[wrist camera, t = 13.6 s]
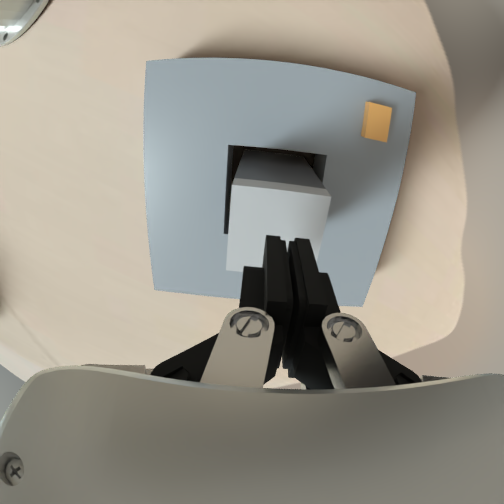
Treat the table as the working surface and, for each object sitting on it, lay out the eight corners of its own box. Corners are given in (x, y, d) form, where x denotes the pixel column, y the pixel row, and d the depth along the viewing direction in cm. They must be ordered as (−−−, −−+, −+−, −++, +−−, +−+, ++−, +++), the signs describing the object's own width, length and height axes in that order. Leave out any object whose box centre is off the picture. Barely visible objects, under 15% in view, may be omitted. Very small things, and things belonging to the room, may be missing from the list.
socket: (165, 66, 18) (141, 59, 14) (392, 92, 18) (421, 92, 14) (167, 264, 27) (151, 295, 23) (351, 280, 27) (364, 312, 23)
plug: (244, 149, 21) (231, 184, 13) (303, 156, 22) (331, 196, 13) (239, 203, 24) (226, 270, 15) (294, 209, 24) (312, 278, 15)
